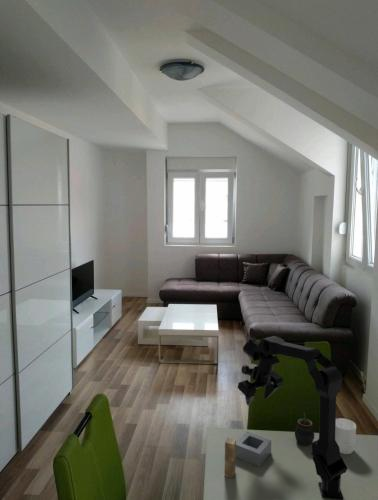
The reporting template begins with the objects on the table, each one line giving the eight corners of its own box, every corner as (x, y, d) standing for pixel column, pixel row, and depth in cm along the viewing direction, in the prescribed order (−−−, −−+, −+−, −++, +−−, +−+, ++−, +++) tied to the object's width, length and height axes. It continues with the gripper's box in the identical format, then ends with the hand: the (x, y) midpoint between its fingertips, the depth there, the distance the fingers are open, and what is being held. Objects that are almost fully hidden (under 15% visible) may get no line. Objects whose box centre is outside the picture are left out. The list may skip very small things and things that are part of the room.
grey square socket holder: (270, 452, 147) (271, 440, 146) (259, 466, 139) (259, 454, 138) (246, 443, 152) (246, 431, 152) (233, 456, 144) (234, 443, 144)
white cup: (351, 443, 153) (352, 418, 152) (357, 456, 145) (359, 430, 144) (330, 442, 154) (331, 417, 152) (335, 454, 146) (336, 428, 145)
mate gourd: (297, 447, 150) (297, 421, 149) (292, 435, 158) (293, 411, 157) (316, 447, 150) (317, 422, 149) (310, 436, 158) (311, 412, 157)
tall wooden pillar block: (235, 472, 136) (236, 439, 134) (233, 478, 133) (233, 444, 131) (226, 470, 137) (227, 437, 135) (224, 476, 134) (225, 442, 132)
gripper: (268, 350, 160) (260, 383, 165) (232, 360, 149) (225, 394, 154) (288, 366, 151) (279, 400, 156) (251, 378, 141) (243, 413, 146)
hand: (256, 401), depth 153 cm, fingers open, 9 cm apart
